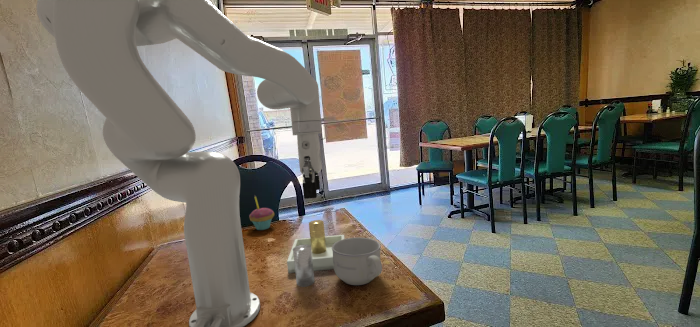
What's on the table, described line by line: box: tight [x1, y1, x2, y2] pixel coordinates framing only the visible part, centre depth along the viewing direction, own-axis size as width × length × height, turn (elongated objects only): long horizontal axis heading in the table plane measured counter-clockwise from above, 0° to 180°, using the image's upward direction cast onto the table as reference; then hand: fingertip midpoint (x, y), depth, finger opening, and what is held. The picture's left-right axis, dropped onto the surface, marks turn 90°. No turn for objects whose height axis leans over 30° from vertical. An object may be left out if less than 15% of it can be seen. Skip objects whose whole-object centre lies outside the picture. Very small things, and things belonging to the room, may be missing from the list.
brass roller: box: [308, 219, 326, 254], centre depth 82 cm, size 4×4×8 cm
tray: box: [286, 234, 345, 274], centre depth 80 cm, size 14×14×3 cm
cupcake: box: [248, 194, 275, 231], centre depth 107 cm, size 9×8×12 cm
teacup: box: [332, 236, 383, 286], centre depth 66 cm, size 14×11×8 cm
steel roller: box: [293, 245, 315, 288], centre depth 68 cm, size 4×4×8 cm
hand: (312, 193), depth 80 cm, fingers open, 9 cm apart
